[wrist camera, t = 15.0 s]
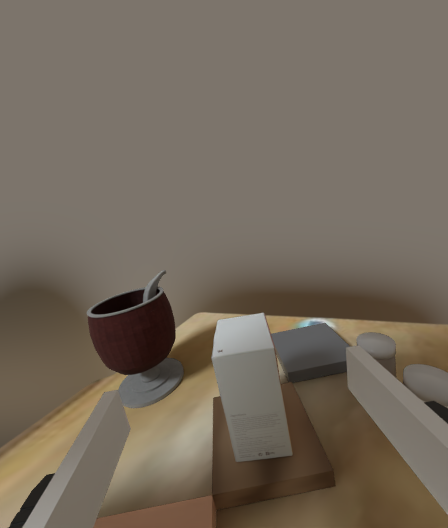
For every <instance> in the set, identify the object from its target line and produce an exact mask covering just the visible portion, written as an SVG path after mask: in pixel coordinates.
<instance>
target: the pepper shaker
mask: <svg viewBox="0 0 448 528" xmlns="http://www.w3.org/2000/svg"><path fill="white" fill-rule="evenodd" d="M358 345H359V346H360V347H362V348H363V349H364V350H365V351H366V352H367V353H368V354H369V355H371V356H372V357H373V358H374V359H375V360H376V361H377V362H378V363H380V364H381V365H382V366H383V367H384V368H385V369H386V370H387V371H389V372H390V373H391V374H392V375H393V376H394V377H395V378H396V363H395V354H396V344H395V341H394V340H393V339H392V338H390V337H389V336H387V335H384V334H380V333H373V332H369V333H363V334H360V335H359V336H358V337H357V346H358Z"/></svg>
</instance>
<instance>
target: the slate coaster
mask: <svg viewBox="0 0 448 528" xmlns="http://www.w3.org/2000/svg"><path fill="white" fill-rule="evenodd" d="M271 336H272V340H273V343H274V346H275V352H276V355H277V357H278V359H279V362H280V364H281V366H282V368H283V371H284V373H285V375H286V377H287V379H288V382H292V383H293V382H298V381H303V380H308V379H313V378H318V377H323V376H328V375H333V374H338V373H342V372H347V360H346V348H347V347H350V346H349V345H348V344H347V343H346V342H345V341H344V340H343V339H342V338H341V337H340V336H338V335H337V334H336V333H335V332H334V331H333V330H332V329H331V328H330V327H329V326H328V325H327V324H326V323H322V324H317V325H312V326H307V327H303V328H298V329H293V330H288V331H283V332H278V333H273V334H271Z"/></svg>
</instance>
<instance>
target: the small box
mask: <svg viewBox="0 0 448 528" xmlns="http://www.w3.org/2000/svg"><path fill="white" fill-rule="evenodd" d="M212 362H213V366H214V371H215V375H216V379H217V383H218V388H219V392H220V396H221V400H222V404H223V408H224V412H225V416H226V421H227V425H228V429H229V433H230V438H231V443H232V447H233V451H234V456H235V460H236V462H242V461H252V460H260V459H269V458H277V457H285V456H292V455H293V451H292V445H291V439H290V433H289V428H288V423H287V417H286V411H285V405H284V399H283V393H282V387H281V382H280V376H279V370H278V364H277V358H276V352H275V346H274V343H273V340H272V336H271V333H270V330H269V327H268V324H267V321H266V317H265V314H264V313H260V314H253V315H247V316H240V317H234V318H228V319H222V320H218V321H217V326H216V331H215V335H214V344H213V352H212Z"/></svg>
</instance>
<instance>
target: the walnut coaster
mask: <svg viewBox="0 0 448 528" xmlns="http://www.w3.org/2000/svg"><path fill="white" fill-rule="evenodd" d="M281 387H282V393H283V399H284V405H285V411H286V417H287V423H288V428H289V433H290V439H291V445H292V451H293V455H292V456H285V457H277V458H269V459H260V460H252V461H242V462H236V460H235V456H234V451H233V447H232V443H231V438H230V433H229V429H228V425H227V421H226V416H225V412H224V408H223V404H222V400H221V396H219V397H214V398H213V469H212V496H213V500H214V503H215V507H216V510H219V509H224V508H229V507H234V506H239V505H244V504H249V503H254V502H259V501H264V500H269V499H274V498H278V497H283V496H288V495H293V494H298V493H303V492H308V491H313V490H318V489H323V488H328V487H333V486H335V480H334V472H333V469H332V467H331V464H330V462H329V460H328V458H327V456H326V454H325V452H324V449H323V447H322V445H321V443H320V441H319V439H318V437H317V435H316V432H315V430H314V428H313V426H312V424H311V422H310V420H309V417H308V415H307V413H306V411H305V409H304V407H303V405H302V403H301V400H300V398H299V396H298V394H297V392H296V390H295V388H294V385H293V383H292V382H288V383H283V384H281Z"/></svg>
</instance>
